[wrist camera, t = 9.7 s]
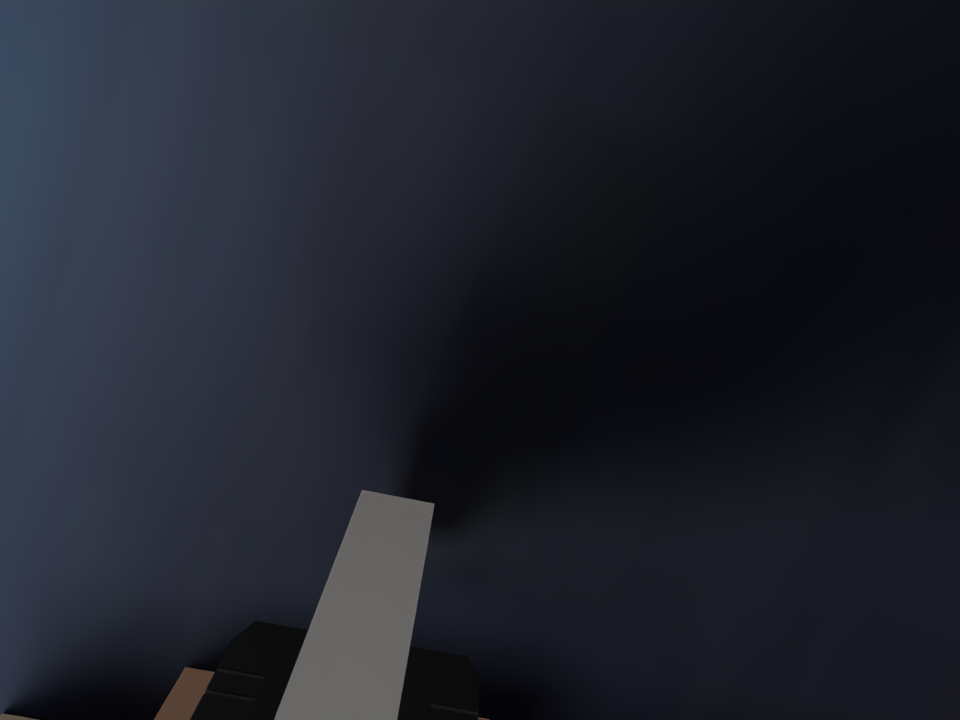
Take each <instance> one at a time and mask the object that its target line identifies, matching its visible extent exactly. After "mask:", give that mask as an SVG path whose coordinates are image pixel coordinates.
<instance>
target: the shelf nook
mask: <svg viewBox="0 0 960 720" xmlns="http://www.w3.org/2000/svg"><path fill="white" fill-rule="evenodd" d="M0 720H38V719H32V718H26V717H20V716H15V715H9V714H3V713H2V714H1V715H0Z"/></svg>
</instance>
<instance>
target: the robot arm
mask: <svg viewBox="0 0 960 720" xmlns="http://www.w3.org/2000/svg"><path fill="white" fill-rule="evenodd" d="M433 510H434V503H429V502H423V501H418V500H413V499H407V498H402V497H397V496H391V495H386V494H381V493H376V492H370V491H365V490H362V491H361V494H360V496H359V499H358V502H357V504H356V507H355V510H354V512H353V515H352V517H351V520H350V523H349V525H348V528H347V530H346V533H345V536H344V538H343V541H342V544H341V546H340V549H339V551H338V554H337V557H336V559H335V562H334V564H333V567H332V570H331V572H330V575H329V577H328V580H327V583H326V585H325V588H324V591H323V593H322V596H321V598H320V601H319V604H318V606H317V609H316V611H315V614H314V617H313V619H312V622H311V624H310V627H309V630H303V629H297V628H292V627H286V626H281V625H275V624H270V623H264V622H259V621H255V622H254V623H252V624H251V625H250V626H249V627H248V628H246V629H245V630H244V631H243V632H241V633H240V634H239V635H238V636H237V637H235V638H234V639H233V640H232V641H231V642H230V644H229V646H228V648H227V650H226V652H225V654H224V656H223V658H222V659H221V661H220V663H219V665H218V668H217V671H216V672H215V673H214V675H213V677H212V678H211V680H210V682H209V684H208V686H207V688H206V692H205V694H203V696H202V697H201V699H200V701H199V703H198V705H197V707H196V709H195V711H194V713H193V715H192V716H191V718H190V720H478V719H479V716H478V712H479V690H480V683H479V680H478V678H477V676H476V674H475V671H474V669H473V667H472V665H471V662H470V660H469V658H468V657H464V656H458V655H453V654H447V653H442V652H436V651H431V650H425V649H420V648H414V647H410V643H411V637H412V631H413V625H414V620H415V614H416V608H417V602H418V597H419V591H420V585H421V579H422V574H423V568H424V562H425V556H426V551H427V545H428V539H429V533H430V527H431V522H432V516H433Z"/></svg>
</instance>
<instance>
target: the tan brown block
mask: <svg viewBox="0 0 960 720" xmlns="http://www.w3.org/2000/svg"><path fill="white" fill-rule="evenodd" d="M214 673H215V672H211V671H206V670H200V669H194V668H188V667H185V668H184V670H183V672H182V673H181V675H180V677H179V678H178V680H177V682H176V683H175V685H174V687H173V688H172V690H171V692H170V693H169V695H168V697H167V698H166V700H165V702H164V703H163V705H162V707H161V708H160V710H159V712H158V713H157V715H156V717H155V718H154V720H190V718H191V716H192V715H193V713H194V711H195V709H196V707H197V705H198V703H199V701H200V699H201V697H202V696H203V694H205V692H206V688H207V686H208V684H209V682H210V680H211V678H212V677H213V675H214ZM478 720H489V719H485V718H479V719H478Z"/></svg>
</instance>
